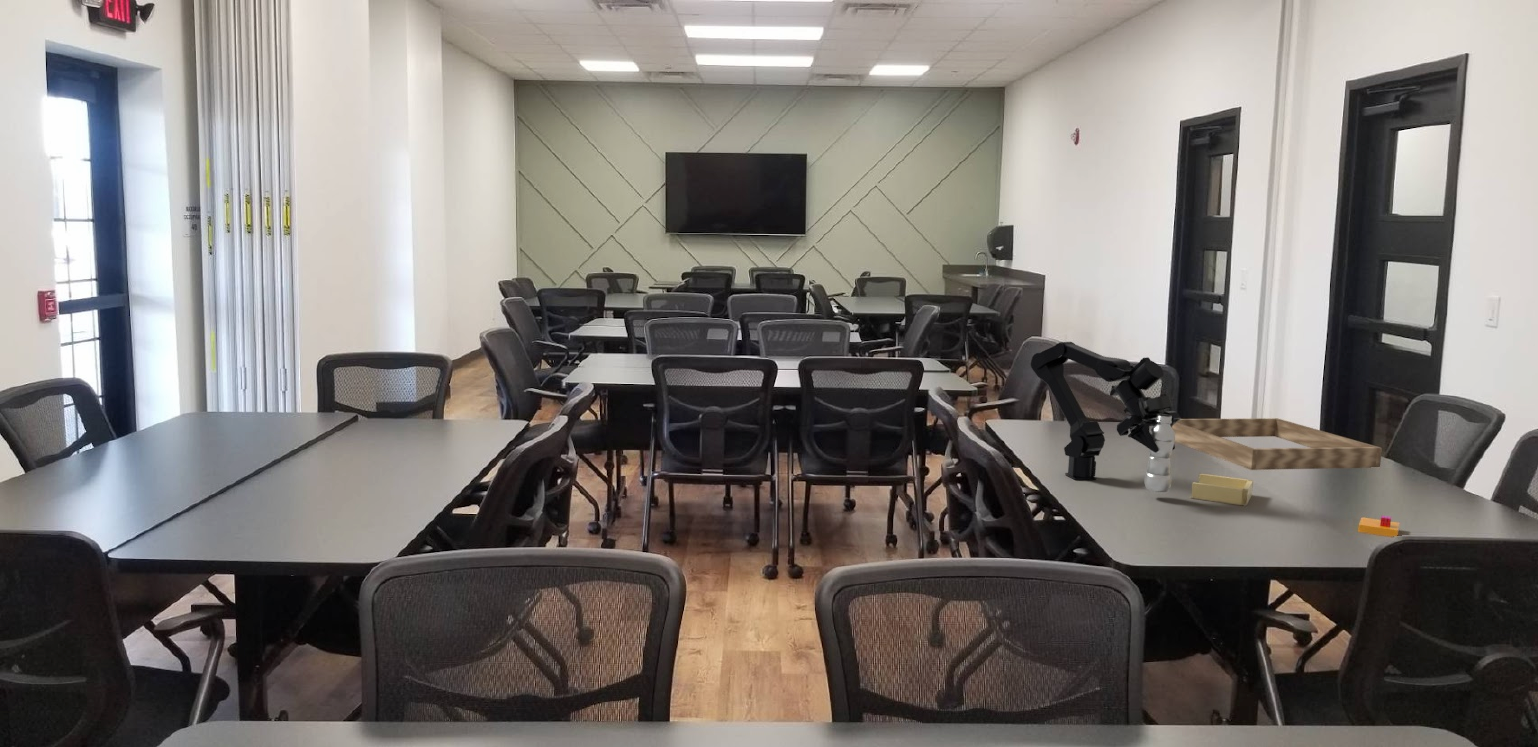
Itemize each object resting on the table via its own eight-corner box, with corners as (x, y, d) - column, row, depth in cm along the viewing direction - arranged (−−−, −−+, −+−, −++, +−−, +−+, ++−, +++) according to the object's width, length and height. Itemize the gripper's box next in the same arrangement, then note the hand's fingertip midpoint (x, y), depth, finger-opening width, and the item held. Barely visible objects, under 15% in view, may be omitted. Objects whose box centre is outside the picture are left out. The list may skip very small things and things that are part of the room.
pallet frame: (1251, 469, 320) (1252, 449, 319) (1161, 436, 368) (1162, 419, 367) (1379, 467, 328) (1382, 447, 328) (1275, 435, 376) (1277, 418, 375)
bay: (1191, 498, 284) (1192, 483, 284) (1198, 487, 296) (1199, 473, 295) (1246, 505, 278) (1247, 490, 277) (1251, 495, 289) (1253, 480, 289)
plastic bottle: (1157, 495, 278) (1165, 418, 275) (1137, 489, 284) (1145, 413, 281) (1175, 493, 281) (1183, 417, 278) (1155, 487, 287) (1163, 412, 284)
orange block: (1357, 533, 256) (1359, 515, 256) (1360, 525, 263) (1362, 508, 263) (1397, 539, 252) (1399, 521, 252) (1398, 531, 259) (1400, 514, 258)
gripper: (1130, 384, 277) (1161, 436, 269) (1178, 380, 286) (1210, 430, 279) (1102, 409, 284) (1132, 460, 277) (1150, 404, 294) (1181, 453, 287)
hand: (1165, 450), depth 280 cm, fingers closed on plastic bottle, 6 cm apart
